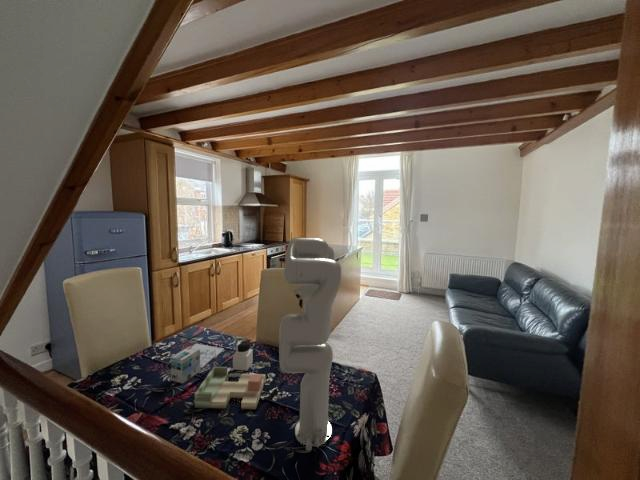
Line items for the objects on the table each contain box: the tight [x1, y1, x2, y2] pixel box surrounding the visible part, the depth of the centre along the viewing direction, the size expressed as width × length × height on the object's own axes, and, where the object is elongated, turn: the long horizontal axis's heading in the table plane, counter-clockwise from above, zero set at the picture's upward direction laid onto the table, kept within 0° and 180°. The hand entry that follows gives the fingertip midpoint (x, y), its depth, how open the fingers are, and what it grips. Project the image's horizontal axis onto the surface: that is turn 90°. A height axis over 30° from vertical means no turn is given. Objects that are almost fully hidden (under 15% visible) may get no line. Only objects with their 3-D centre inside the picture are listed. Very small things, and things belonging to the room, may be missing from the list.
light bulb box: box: [170, 346, 201, 384], centre depth 119 cm, size 11×7×11 cm, turn 161°
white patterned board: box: [168, 343, 225, 370], centre depth 136 cm, size 19×20×2 cm
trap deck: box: [194, 366, 267, 410], centre depth 108 cm, size 18×23×6 cm
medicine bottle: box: [232, 340, 253, 372], centre depth 127 cm, size 7×7×12 cm
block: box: [248, 375, 262, 391], centre depth 108 cm, size 4×4×4 cm
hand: (311, 307), depth 128 cm, fingers open, 9 cm apart
